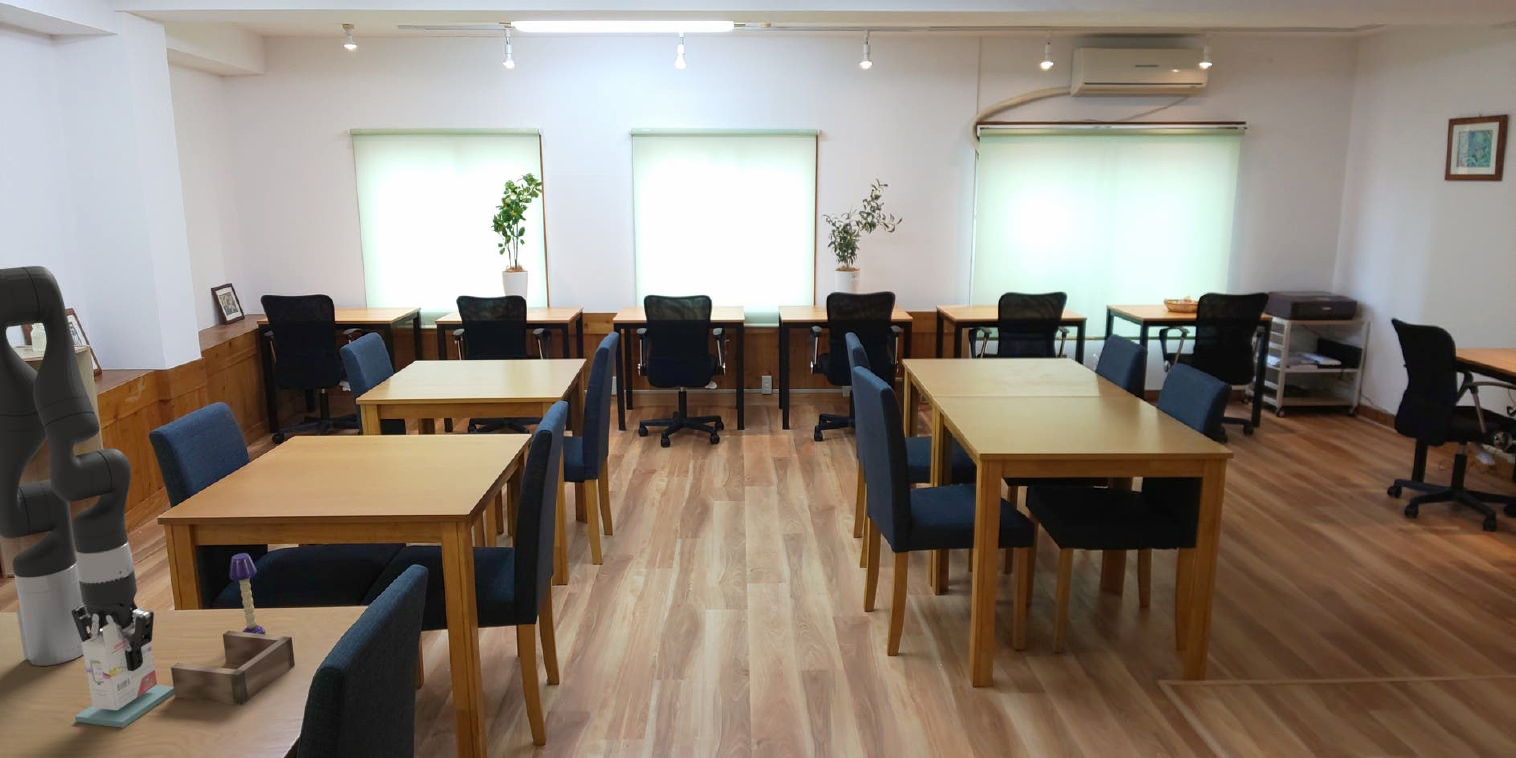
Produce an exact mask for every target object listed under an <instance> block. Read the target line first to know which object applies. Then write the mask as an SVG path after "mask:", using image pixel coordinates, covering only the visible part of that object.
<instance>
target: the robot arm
mask: <svg viewBox="0 0 1516 758" xmlns="http://www.w3.org/2000/svg"><path fill="white" fill-rule="evenodd" d="M64 302H65V301H64V298H63V295H62V291H61V289H60V286H59V284H58V281H57V279H56V278H55V275H54V274H53V273H52V271H50V270H49V269H48V268H47V267H45V266H42V265H30V266H19V267H9V268H8V267H5V268H0V536H1V537H2V538H4V539H6V540H7V539H10V540H11V539H21V538H23V537H24V538H25V537H29V536H33V535H38V534H42V533H45V535H44V536H43V537H41V539H39V540H38V541H37V542H36V543H34V544H33V545H31V546H29V547H27V548H25V549H23V550H22V551H20V552H19V553H17V554H16V555H15V556H14V557H13V559H12V570H13V575H14V581H15V585H16V586H15V587H16V592H17V597H18V603H19V608H20V609H18V610H17V611H16V616H17V620H18V621H17V623H18V628H19V632H20V633H19V634H20V639H21V644H22V651H23V656H24V660H27V661H29V663H30V664H32V665H35V666H42V667H43V666H51V665H59V664H63V663H66V662H70V661H71V660H74V659H77V658H79V657H81V656H84V655H83V649H82V644H81V643H83V642H85V641H86V640H88V639H90V638H92V637H94V636H98V635H100V634H102V628H103V627H104V626H106V625H108V624H110V623H112V622H114V623H115V624H116V628H117V632H118V637H119V639H121V640H122V642H123V645H124V647H125V649H126V651H125V656H126V662H127V669H128V671H134V670H136V669H138V668H139V667H141V665H142V664H143V657H142V651H141V647H142V646H144V645H146V644H147V643H149V642H150V643H151V642H152V640H153V631H154V619H155V618H154V617H155V613H154V611H153V610H152V609H149V610H147V611H144V612H143V611H140V610H138V608H139V607H138V606H137V604H136V602H135V597H136V594H137V592H138V588H137V582H136V581H137V580H136V574H135V567H134V560H133V554H132V550H131V548H130V544H129V539H128V533H127V525H126V519H125V518H126V510H127V509H126V508H127V502H128V497H129V491H130V488H131V487H130V486H131V480H132V467H131V464H130V460H129V459H128V457H127V456H126V454H124V453H123V452H122V451H120V450H119V449H116V448H104V449H99V450H95V451H90V452H86V453H81V454H77V455H75V453H74V448H75V446H76V445H79V444H81V443H83V442H86V441H89V440H90V439H92V438H94V437H96V435H98V433H99V432H100V427H101V426H100V422H99V419H98V417H97V415H96V413H95V410H94V407H93V404H92V402H91V400H90V397H89V395H88V392H87V390H86V386H85V384H84V381H83V379H82V374H81V371H80V367H79V362H78V358H77V353H76V349H75V343H74V339H73V335H72V331H71V326H70V323H69V322H70V321H69V318H68V314H67V309H66V306H65V303H64ZM33 324H42V326H43V328H44V332H45V340H46V341H45V343H46V344H45V350H44V353H43V357H42V360H41V363H40V366H39V369H38V371H36V370H35V369H34V368H33V367H32V366H31V365H30V364H29V363H27V362H26V361H25V360H24V359H23V358H22V357H21V356H20V355H19V354H18V353H17V351H16V350H15V349H14V348H13V347H12V345H11V344H10V342H9V339H8V336H7V329H8V328H10V327H12V328H13V327H19V326H25V325H27V326H28V325H33ZM46 441H47V445H48V451H49V477H50V478H49V479H44V480H38V481H32V482H28V483H23V484H20V482H21V479H22V475H23V474H24V471H25V470H26V467H27V466H28V465H29V463H30V461H31V460H32V459H33V458H34V456H35V455H36V454H37V452H38V451H39V450H40V449H41V448H42V446H43V445H44V443H45V442H46ZM98 496H99V497H98ZM95 497H98V500H97V502H96V503H95V504H93V505H92V506H91V507H88V508H86V509H84V510H82V511H80V512H78V513H77V514H75V516H73V519H72V516H71V515H72V514H71V504H70V503H73V502H79V501H83V500H87V499H91V498H95ZM131 623H132V624H133V626H132V628H131V629H130V630H128V631H126V632H124V631H123V629H125V628H127V627H129V626H130V625H131ZM88 628H89V631H90V632H89V631H88ZM131 634H132V637H133V640H134V641H132V642H131V640H130V638H129V636H130V635H131ZM143 636H144V637H143Z"/></svg>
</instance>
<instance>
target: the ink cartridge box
mask: <svg viewBox="0 0 1516 758" xmlns="http://www.w3.org/2000/svg"><path fill="white" fill-rule="evenodd" d="M137 608H138V610H140V611H143V612H145V611H144V608H143V607H142V606H140V607H137ZM132 626H133V624H132V623H131V625H130V626H129V627H127V628H125V629H123V631H124V632H126V631H128V630H130V629H131V628H132ZM143 637H144V636H143ZM129 638H130V640H131V642H132V641H134V640H133V637H132V634H131V635H130V636H129ZM81 644H82V649H83V655H82V656H83V658H84V664H85V670H86V676H87V682H88V687H89V692H90V699H91V706H92V705H93V708H100V709H109V710H118V709H120V708H122V707H123V706H125V705H126V704H128V703H129V702H131V701H132V700H134V699H135V698H137V697H138V696H140V695H141V694H143V693H144V692H146V691H148V690H149V689H151V688H152V687H154V686H155V685H158V683H157V682H158V681H157V676H156V675H157V674H156V669H155V664H154V656H153V651H152V650H153V649H152V644H151V642H149V643H147V644H146V645H144V646H142V647H141V651H142V657H143V664H142V665H141V667H139V668H138V669H136V670H134V671H128V669H127V662H126V656H125V651H126V649H125V647H124V645H123V642H122V640H121V639H119V637H118V632H117V628H116V624H115V623H114V622H112V623H110V624H108V625H106V626H104V627H103V628H102V634H100V635H98V636H94V637H92V638H90V639H88V640H86V641H85V642H83V643H81Z"/></svg>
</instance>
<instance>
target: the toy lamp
mask: <svg viewBox="0 0 1516 758" xmlns="http://www.w3.org/2000/svg"><path fill="white" fill-rule="evenodd" d="M257 573H258V571H257V568H256V566H255V564H254V562H253V559H252V557H251V556H250V555H249V554H248V553H247V552H243V553H242V552H241V553H238V554H235V555H232V556H231V560H230V566H229V574H228V575H229V579H230V580H232V581H238V583H239V584H240V585H239V589H240V591H241V593H240V595H241V598H242V605H243V612H244V618H245V621H246V623H245V624H246V627H245V628H244V629H243V630H242V631H241V632H246V633H256V634H265V635H266V630H265V629H264V628H263V626H261V625H259V624H258V623H257V620H256V613H255V606H254V599H253V597H252V596H253V593H252V590H251V587H252V585H251V583H250V578H252V577H255V575H257Z"/></svg>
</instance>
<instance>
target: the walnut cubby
mask: <svg viewBox="0 0 1516 758" xmlns="http://www.w3.org/2000/svg"><path fill="white" fill-rule="evenodd" d="M222 639H223V646H224V648H223V649H224V655H225V657H224V658H225V663H230V664H231V663H232V664H239V665H241V666H239V667H238V668H237V669H234V668H224V667H215V666H206V665H199V664H198V665H197V664H187V663H179V662H177V663H175V664H174V665H172V666H171V667H170V670H171V677H172V678H171V679H172V684H173V686H172V687H174V697H175V698H181V699H189V700H198V701H206V702H213V703H223V704H233V705H238V706H239V705H240V706H242V705H244V704H245V703H246V702H248V701H249V700H250V699H251V698H253V697H254V696H257V694H258V693H260V692H261V691H263V689H265V688H267V687H268V686H269V685H271V684H272V682H274V681H276V680H277V679H279V677H282V675H283V674H285V673H286V672H288V671H289V670H290V669H292V668H293V667H294V666H295V664H296V663H295V662H296V661H295V654H294V645H293V637H292V636H285V635H284V636H282V635H272V634H266V633H265V634H256V633H246V632H242V631H234V630H227V631H226V632H224V633H223V634H222Z"/></svg>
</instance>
